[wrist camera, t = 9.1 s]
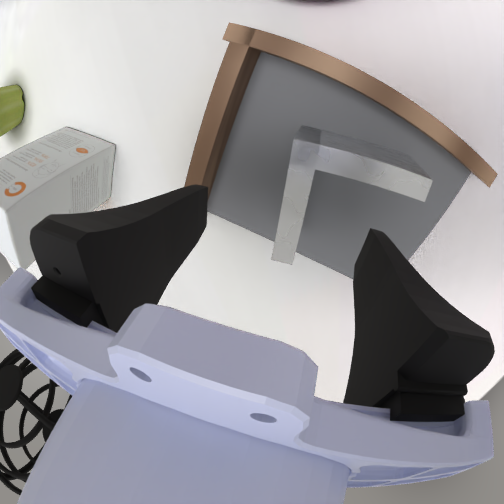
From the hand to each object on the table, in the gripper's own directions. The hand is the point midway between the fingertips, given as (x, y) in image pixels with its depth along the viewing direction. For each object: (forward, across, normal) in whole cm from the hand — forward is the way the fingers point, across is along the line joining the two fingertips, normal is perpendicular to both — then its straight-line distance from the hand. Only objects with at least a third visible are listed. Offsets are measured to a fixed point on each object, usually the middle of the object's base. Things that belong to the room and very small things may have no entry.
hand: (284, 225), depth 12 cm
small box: (+10, +22, +3) cm, 24 cm away
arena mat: (+10, -3, 0) cm, 10 cm away
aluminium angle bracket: (+9, -3, +1) cm, 10 cm away
